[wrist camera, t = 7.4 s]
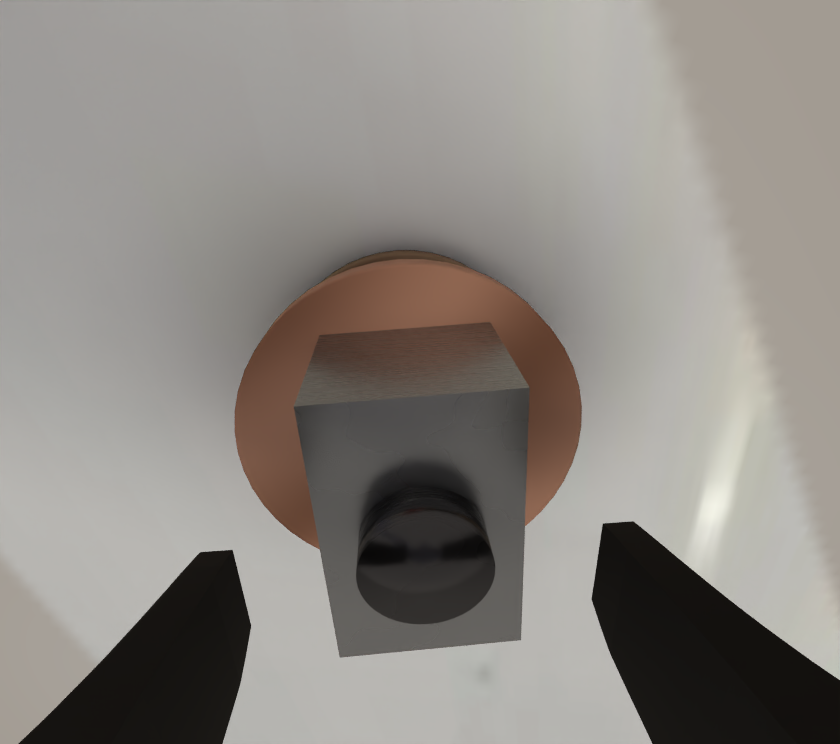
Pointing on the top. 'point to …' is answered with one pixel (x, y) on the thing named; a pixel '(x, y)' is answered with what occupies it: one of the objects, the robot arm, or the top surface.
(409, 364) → the block
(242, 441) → the stand
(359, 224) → the top surface
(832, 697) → the robot arm
